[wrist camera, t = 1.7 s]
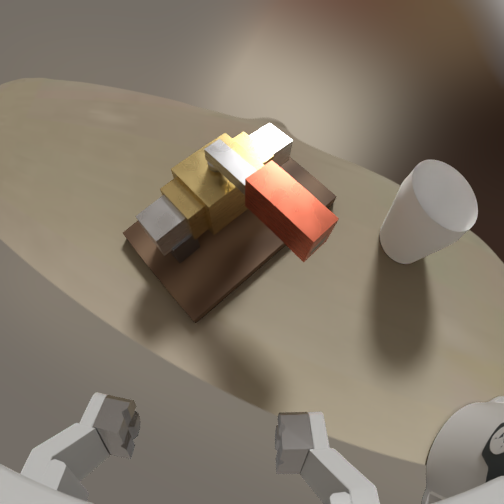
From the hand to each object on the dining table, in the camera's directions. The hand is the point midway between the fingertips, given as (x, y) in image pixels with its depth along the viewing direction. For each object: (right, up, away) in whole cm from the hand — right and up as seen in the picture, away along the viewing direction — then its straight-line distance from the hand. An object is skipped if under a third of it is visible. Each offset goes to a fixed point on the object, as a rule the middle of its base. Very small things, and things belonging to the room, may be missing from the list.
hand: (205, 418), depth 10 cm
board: (-1, +10, +29) cm, 31 cm away
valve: (-2, +11, +28) cm, 30 cm away
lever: (+2, +10, +18) cm, 21 cm away
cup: (+21, +7, +29) cm, 37 cm away
